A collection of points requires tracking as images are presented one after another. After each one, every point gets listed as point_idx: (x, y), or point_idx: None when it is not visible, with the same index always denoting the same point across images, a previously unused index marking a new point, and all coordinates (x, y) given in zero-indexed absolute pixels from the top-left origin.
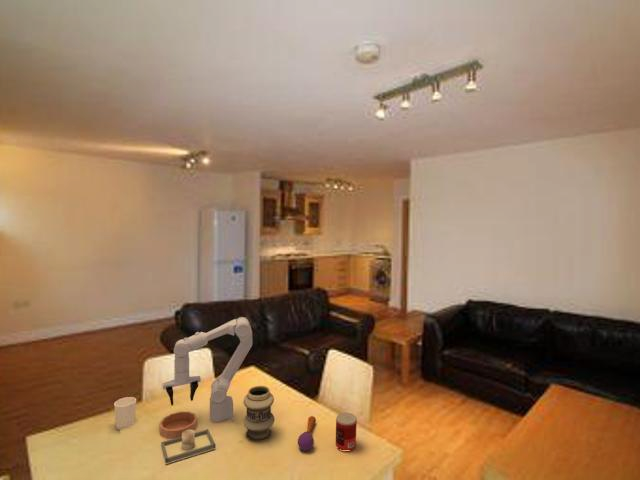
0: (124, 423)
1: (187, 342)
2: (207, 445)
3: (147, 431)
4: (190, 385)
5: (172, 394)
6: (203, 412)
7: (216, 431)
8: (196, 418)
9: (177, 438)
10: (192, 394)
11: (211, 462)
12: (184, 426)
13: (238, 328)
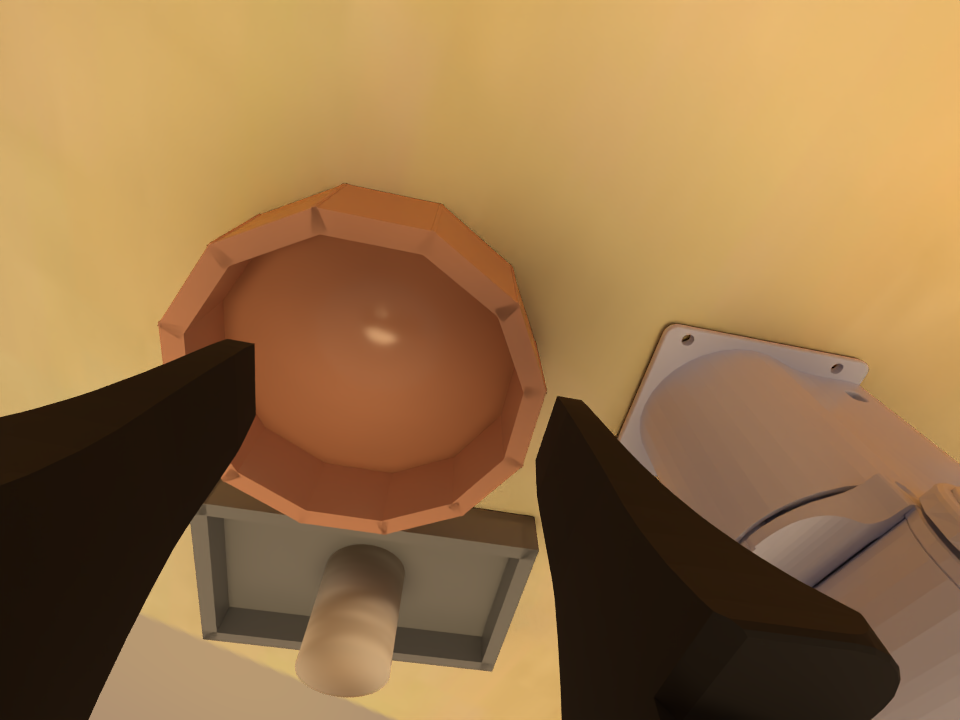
0: None
1: None
2: (450, 659)
3: (97, 175)
4: (639, 587)
5: (106, 642)
6: (709, 206)
7: None
8: (516, 465)
9: (308, 524)
10: (559, 573)
11: (431, 680)
12: (423, 373)
13: None
